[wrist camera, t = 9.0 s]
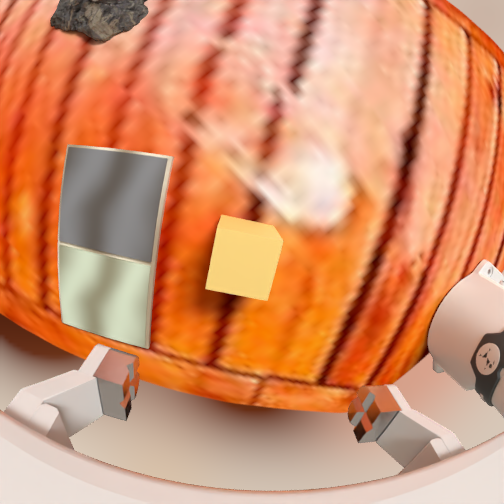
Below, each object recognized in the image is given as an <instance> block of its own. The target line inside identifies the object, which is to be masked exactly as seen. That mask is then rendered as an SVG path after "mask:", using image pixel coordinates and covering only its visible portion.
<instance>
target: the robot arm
mask: <svg viewBox="0 0 504 504" xmlns="http://www.w3.org/2000/svg"><path fill="white" fill-rule="evenodd" d="M428 349H429V352H430V354H431V355H432V357H433V370H434V371H436V372H437V373H441V372H444V371H445V372H446V373H447V374H448V375H449V376H450V377H451V378H452V379H453V380H455V381H456V382H457V383H458V384H459V385H460V386H461V387H462V388H463V389H464V390H466V391H467V390H472V389H475V390H476V392H477V393H478V394H479V395H480V397H481V399H482V400H483V401H484V402H486V403H487V404H488V405H489V406H494V407H495V408H496V409H497V410H498V411H499V412H500V414H501V415H502V416H503V417H504V276H503V274H502V273H501V272H500V271H499V270H497V269H496V268H495V267H494V266H493V265H492V264H491V263H490V262H489V261H487V260H486V259H484V260H482V261H481V262H480V263H479V265H478V266H477V267H476V268H475V270H474V271H473V272H472V273H471V274H470V275H468V276H467V277H465V278H464V279H462V280H461V281H460V282H458V283H457V284H456V285H455V286H454V287H453V288H452V289H451V291H450V292H449V293H448V294H447V296H446V297H445V298H444V300H443V301H442V303H441V304H440V306H439V308H438V310H437V312H436V314H435V316H434V318H433V320H432V323H431V326H430V330H429V334H428ZM138 366H139V357H138V356H136V355H132V354H129V353H126V352H123V351H120V350H116V349H113V348H110V347H107V346H104V345H101V344H98V345H96V346H95V347H94V349H93V350H92V351H91V353H90V354H89V356H88V357H87V359H86V360H85V361H84V363H83V365H82V366H81V367H80V369H79V370H78V371H77V370H72V371H69V372H67V373H64V374H61V375H59V376H56V377H53V378H50V379H48V380H45V381H42V382H39V383H36V384H34V385H31V386H28V387H25V388H22V389H21V390H20V391H19V392H18V394H17V395H16V397H15V398H14V399H13V400H12V402H11V403H10V404H9V406H8V407H7V408H6V410H5V411H4V412H3V411H1V410H0V504H504V432H502V433H500V434H499V435H497V436H495V437H493V438H491V439H489V440H487V441H485V442H483V443H481V444H479V445H477V446H475V447H473V448H471V449H469V450H465V449H464V447H463V446H462V444H461V443H460V441H459V440H458V438H457V437H456V435H455V434H454V432H452V431H450V430H448V429H447V428H445V427H443V426H442V425H440V424H438V423H437V422H435V421H433V420H431V419H430V418H428V417H427V416H425V415H423V414H422V413H420V412H418V411H417V410H415V409H411V407H410V406H409V404H408V403H407V401H406V400H405V398H404V397H403V395H402V394H401V392H400V391H399V389H398V387H397V386H396V385H394V384H390V385H369V386H362V387H361V388H359V390H358V392H357V396H358V397H357V398H355V399H354V400H353V401H352V402H351V404H350V406H349V408H348V419H349V421H350V423H351V424H352V425H354V426H355V428H354V430H353V431H354V434H355V436H356V439H357V441H358V443H363V442H374V441H376V443H377V444H378V445H379V446H380V447H382V448H383V449H384V450H385V451H386V452H387V453H388V454H389V455H391V456H392V457H393V458H394V459H395V460H396V461H397V462H398V463H399V464H400V465H402V466H403V467H404V469H403V470H402V471H401V472H400V473H399V474H398V475H395V476H391V477H387V478H382V479H378V480H373V481H368V482H364V483H357V484H352V485H345V486H338V487H331V488H321V489H309V490H292V491H251V490H234V489H221V488H213V487H204V486H198V485H191V484H185V483H180V482H175V481H169V480H165V479H160V478H156V477H152V476H148V475H144V474H140V473H137V472H133V471H130V470H126V469H123V468H119V467H117V466H114V465H111V464H108V463H105V462H102V461H99V460H97V459H94V458H91V457H89V456H86V455H84V454H81V453H79V452H77V451H75V450H74V448H73V446H72V444H71V441H70V439H69V437H70V436H72V435H74V434H75V433H77V432H78V431H80V430H82V429H83V428H85V427H86V426H88V425H89V424H91V423H92V422H94V421H95V420H97V419H98V418H100V417H102V416H103V414H104V415H108V416H111V417H114V418H118V419H121V420H125V421H126V420H127V418H128V415H129V413H130V410H131V400H133V399H135V397H136V394H137V390H138V386H139V373H138V372H137V369H138Z"/></svg>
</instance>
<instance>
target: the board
mask: <svg viewBox="0 0 504 504" xmlns="http://www.w3.org/2000/svg"><path fill="white" fill-rule="evenodd" d="M173 160H174V157H172V156H165V155H159V154H152V153H145V152H137V151H130V150H122V149H113V148H103V147H93V146H82V145H67V151H66V157H65V163H64V170H63V178H62V186H61V196H60V208H59V224H58V279H59V296H60V308H61V317H62V323H65V324H68V325H71V326H74V327H76V328H79V329H82V330H85V331H88V332H91V333H94V334H97V335H101V336H104V337H107V338H110V339H114V340H117V341H121V342H124V343H128V344H131V345H135V346H139V347H143V348H147V349H149V347H150V333H151V317H152V304H153V293H154V282H155V273H156V264H157V256H158V248H159V240H160V233H161V226H162V220H163V214H164V207H165V202H166V196H167V190H168V185H169V180H170V175H171V170H172V165H173Z"/></svg>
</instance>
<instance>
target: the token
mask: <svg viewBox="0 0 504 504" xmlns="http://www.w3.org/2000/svg"><path fill="white" fill-rule="evenodd" d="M282 245H283V240H282V238H281V237H280V235H279V234H278V232H277V231H276V229H275V227H274V226H272V225H267V224H263V223H258V222H254V221H249V220H244V219H240V218H235V217H230V216H226V215H221V218H220V221H219V224H218V227H217V231H216V236H215V241H214V246H213V251H212V256H211V261H210V267H209V272H208V277H207V283H206V288H205V289H208V290H213V291H218V292H223V293H228V294H234V295H239V296H244V297H250V298H255V299H261V300H266V301H267V300H268V297H269V293H270V289H271V286H272V282H273V279H274V275H275V271H276V267H277V264H278V260H279V256H280V252H281V249H282Z"/></svg>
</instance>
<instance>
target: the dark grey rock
mask: <svg viewBox="0 0 504 504" xmlns="http://www.w3.org/2000/svg"><path fill="white" fill-rule="evenodd" d="M145 1H147V0H60V1H59V4H58V6H57V9H56V11H55V13H54V14H53V16H52V17H51V20H50V21H51V26H52V27H53V26H55V28H60V29H62V30H64V31H69V30H72V31H75V30H77V31H79V32H83V33H84V34H86V35H87V36H89V37H91V38H93V39H94V40H96V41H106V40H110V39H111V38H112V37H113V36H114V35H116V34H117V33H119V32H122V31H129V30H131V29H132V28H133V27H134V26H135V25H137V24H138V23H139V22H140V20H141V19H143V18H144V17H145V16H146V15H147V14H148V8H147V7H146V6H145V5H144V2H145Z"/></svg>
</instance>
